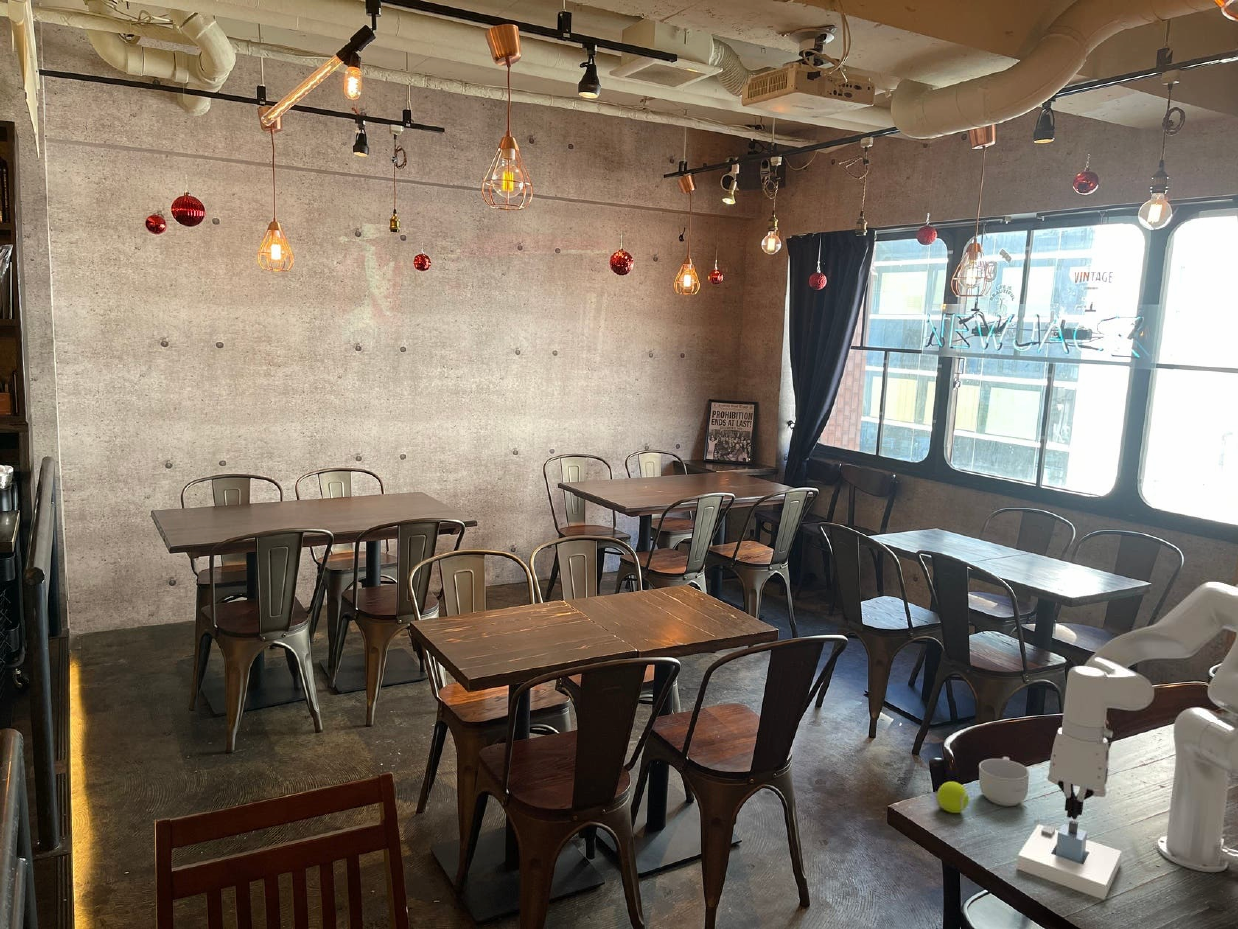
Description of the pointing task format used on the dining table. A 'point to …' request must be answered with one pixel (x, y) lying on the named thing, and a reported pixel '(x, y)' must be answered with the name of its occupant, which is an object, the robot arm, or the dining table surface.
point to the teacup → (1003, 781)
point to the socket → (1069, 863)
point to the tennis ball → (952, 797)
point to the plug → (1071, 842)
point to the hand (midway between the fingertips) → (1072, 816)
